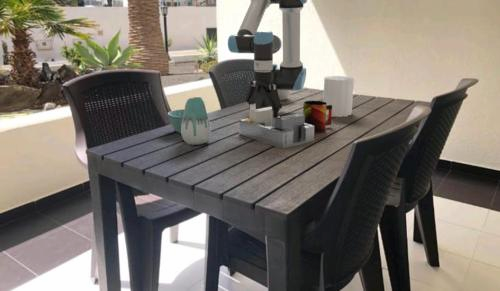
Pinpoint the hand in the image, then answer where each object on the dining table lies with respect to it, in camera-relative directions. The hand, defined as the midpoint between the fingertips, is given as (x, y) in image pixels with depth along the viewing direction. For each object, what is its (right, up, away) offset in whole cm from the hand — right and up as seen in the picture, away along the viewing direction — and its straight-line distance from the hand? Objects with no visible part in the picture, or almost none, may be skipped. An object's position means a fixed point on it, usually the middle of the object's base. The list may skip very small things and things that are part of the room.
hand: (262, 122), depth 171 cm
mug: (+23, -3, +7) cm, 24 cm away
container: (+39, +6, +36) cm, 53 cm away
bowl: (-32, -4, +5) cm, 33 cm away
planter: (+10, +17, +72) cm, 75 cm away
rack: (+5, -6, -4) cm, 9 cm away
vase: (-26, -9, -12) cm, 30 cm away
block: (0, -3, +1) cm, 4 cm away
